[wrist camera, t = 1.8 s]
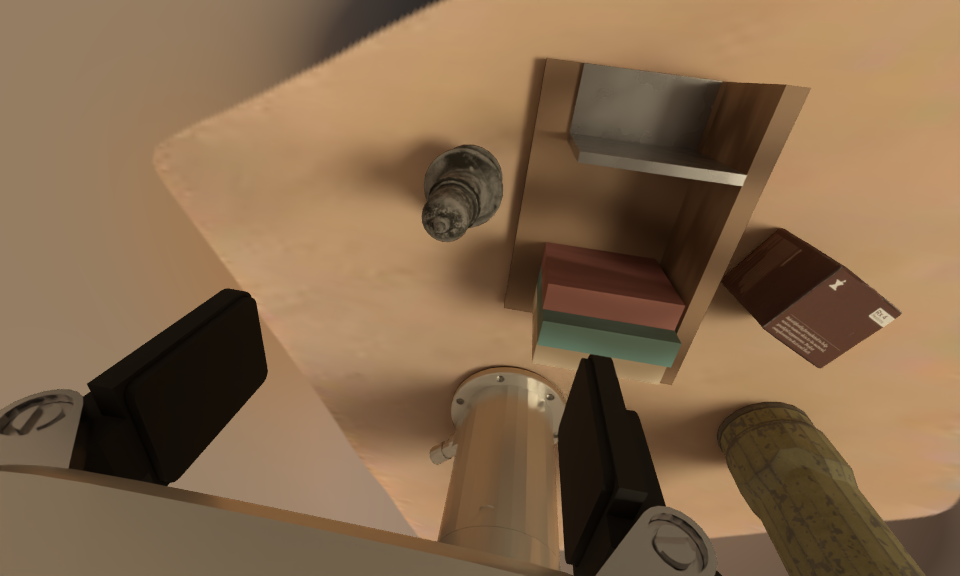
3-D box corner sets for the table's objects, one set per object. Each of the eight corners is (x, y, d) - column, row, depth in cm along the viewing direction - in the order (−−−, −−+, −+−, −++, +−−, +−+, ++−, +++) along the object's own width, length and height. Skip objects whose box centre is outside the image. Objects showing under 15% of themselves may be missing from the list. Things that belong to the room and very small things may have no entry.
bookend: (691, 158, 29) (742, 186, 22) (567, 140, 29) (577, 162, 22) (720, 81, 26) (787, 83, 19) (583, 63, 27) (601, 59, 20)
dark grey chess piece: (465, 226, 34) (434, 294, 24) (420, 171, 33) (364, 218, 22) (520, 186, 32) (513, 241, 22) (475, 124, 30) (443, 151, 20)
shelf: (645, 325, 37) (680, 404, 28) (504, 302, 37) (495, 372, 29) (739, 84, 27) (837, 89, 18) (546, 58, 28) (551, 52, 19)
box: (717, 279, 34) (759, 327, 27) (780, 224, 31) (844, 264, 25) (767, 316, 35) (819, 371, 28) (832, 266, 32) (907, 315, 26)
